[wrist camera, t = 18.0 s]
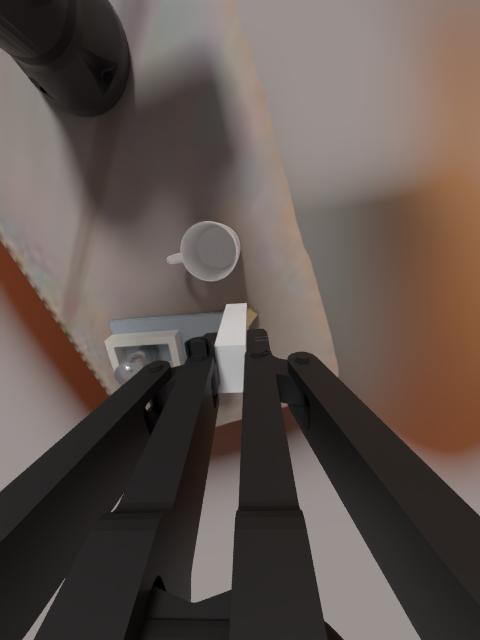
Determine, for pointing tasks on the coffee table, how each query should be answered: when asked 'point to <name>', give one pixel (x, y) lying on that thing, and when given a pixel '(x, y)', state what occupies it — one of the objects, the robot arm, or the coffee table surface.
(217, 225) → the mug
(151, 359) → the pin
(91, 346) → the coffee table surface
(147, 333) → the plate
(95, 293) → the coffee table surface
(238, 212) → the coffee table surface
